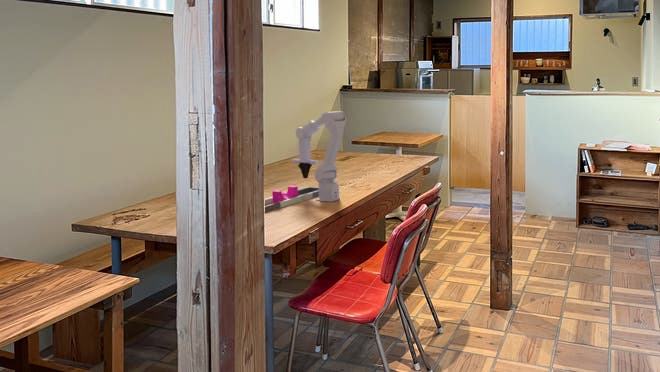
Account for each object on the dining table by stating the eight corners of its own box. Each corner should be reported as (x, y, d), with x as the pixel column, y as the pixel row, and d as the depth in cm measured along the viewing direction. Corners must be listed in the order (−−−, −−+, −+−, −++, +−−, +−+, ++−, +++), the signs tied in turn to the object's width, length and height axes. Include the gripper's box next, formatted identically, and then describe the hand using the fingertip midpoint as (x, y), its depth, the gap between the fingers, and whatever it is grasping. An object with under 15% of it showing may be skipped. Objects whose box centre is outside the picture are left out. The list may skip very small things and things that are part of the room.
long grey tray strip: (328, 193, 355) (327, 188, 355) (264, 212, 314) (264, 207, 314) (308, 191, 362) (308, 186, 362) (244, 209, 321) (244, 204, 321)
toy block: (287, 200, 341) (287, 185, 340) (298, 201, 338) (297, 186, 336) (268, 206, 329) (268, 190, 327) (279, 207, 325) (278, 191, 324)
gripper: (321, 150, 346) (322, 177, 349) (297, 149, 354) (298, 175, 357) (313, 152, 341) (314, 179, 343) (289, 151, 348) (290, 177, 351)
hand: (305, 177), depth 349 cm, fingers closed
